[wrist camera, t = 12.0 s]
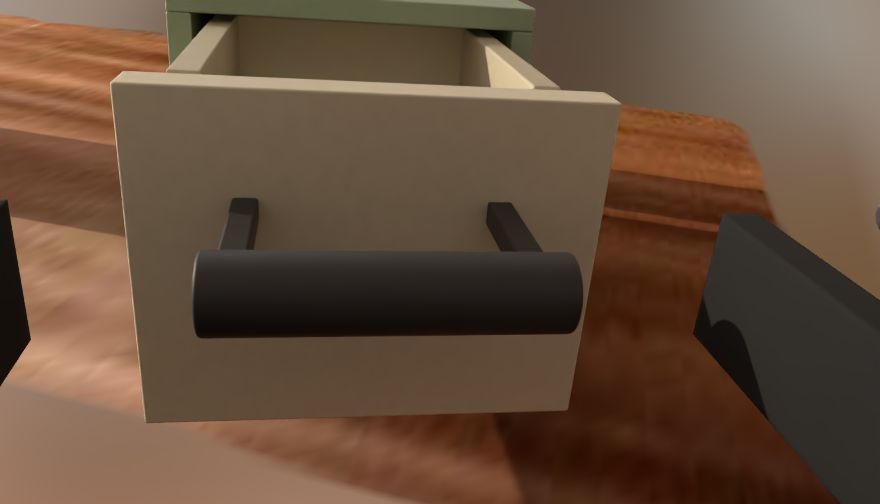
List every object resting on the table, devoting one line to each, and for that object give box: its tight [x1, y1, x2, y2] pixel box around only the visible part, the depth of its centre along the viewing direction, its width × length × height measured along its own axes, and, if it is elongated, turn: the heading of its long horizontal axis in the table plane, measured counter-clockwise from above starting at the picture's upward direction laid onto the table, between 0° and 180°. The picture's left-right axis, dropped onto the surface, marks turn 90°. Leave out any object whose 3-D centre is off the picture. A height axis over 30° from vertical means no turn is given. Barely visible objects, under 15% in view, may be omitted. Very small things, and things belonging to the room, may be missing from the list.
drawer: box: [110, 14, 622, 423], centre depth 22 cm, size 18×11×9 cm, turn 9°
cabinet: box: [165, 0, 536, 65], centre depth 34 cm, size 15×13×11 cm
